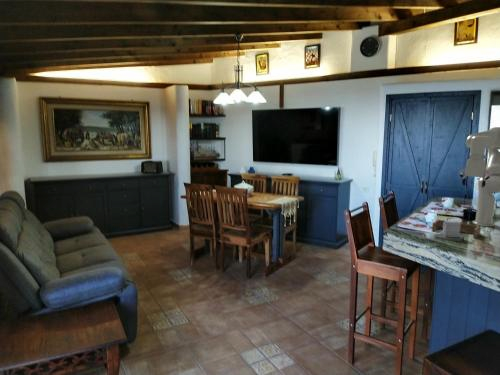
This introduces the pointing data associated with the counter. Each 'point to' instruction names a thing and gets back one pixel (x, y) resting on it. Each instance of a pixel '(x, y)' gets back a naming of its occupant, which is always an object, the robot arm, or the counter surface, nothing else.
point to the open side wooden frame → (463, 227)
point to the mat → (450, 237)
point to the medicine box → (451, 228)
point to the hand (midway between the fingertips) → (473, 186)
